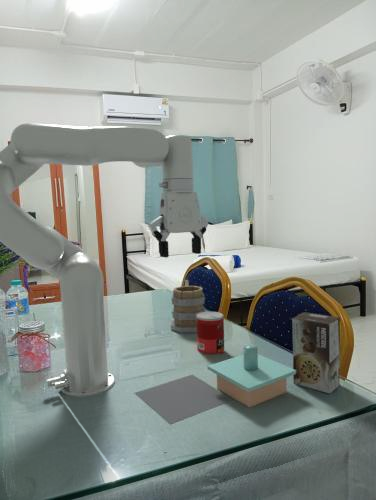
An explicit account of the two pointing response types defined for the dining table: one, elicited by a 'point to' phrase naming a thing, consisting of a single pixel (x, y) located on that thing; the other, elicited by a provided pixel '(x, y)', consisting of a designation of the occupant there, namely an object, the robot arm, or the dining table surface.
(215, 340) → the canned food
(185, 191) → the robot arm
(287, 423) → the dining table surface
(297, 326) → the coffee box
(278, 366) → the lid
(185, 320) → the tankard
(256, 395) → the pink storage bin
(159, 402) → the mat
